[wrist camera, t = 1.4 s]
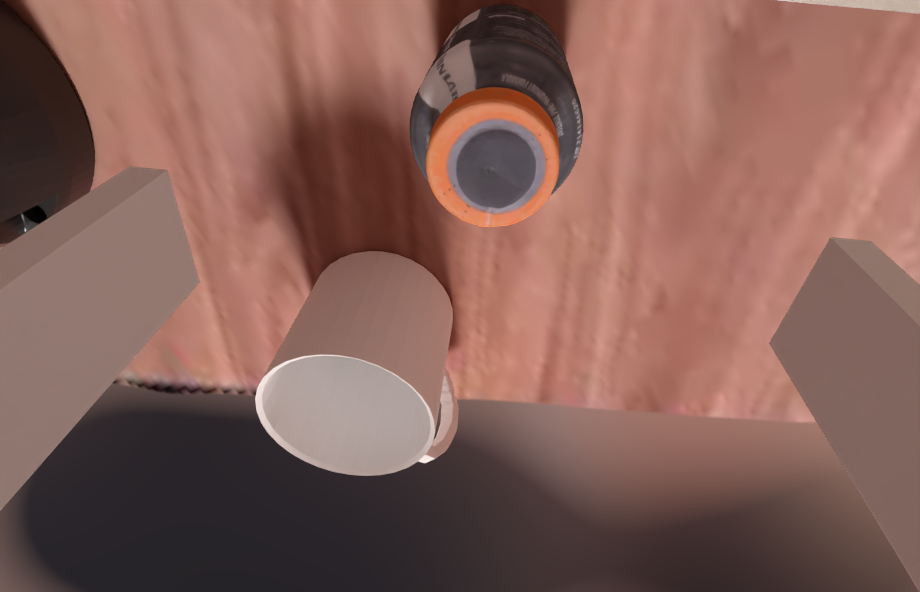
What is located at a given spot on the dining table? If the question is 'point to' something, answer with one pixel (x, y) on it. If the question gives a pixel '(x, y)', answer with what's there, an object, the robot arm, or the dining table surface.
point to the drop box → (871, 4)
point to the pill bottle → (497, 117)
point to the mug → (364, 369)
